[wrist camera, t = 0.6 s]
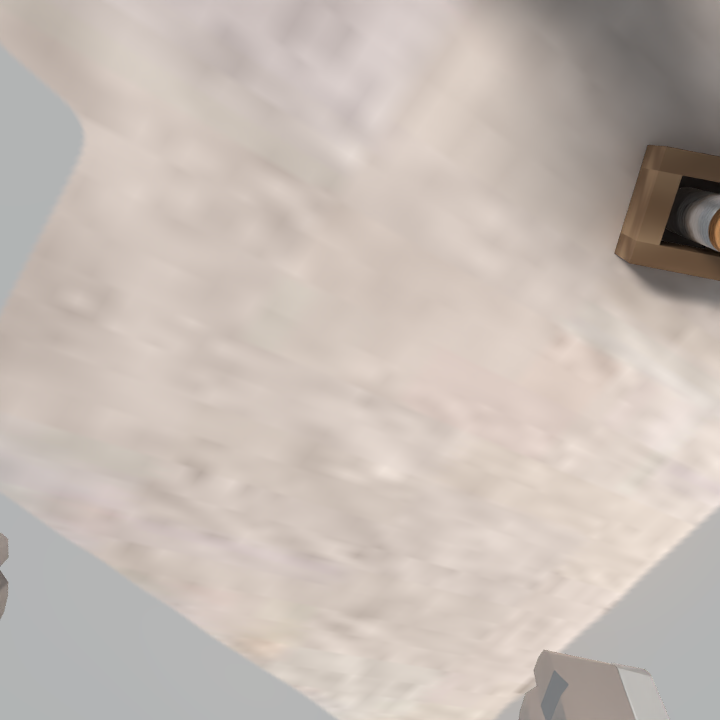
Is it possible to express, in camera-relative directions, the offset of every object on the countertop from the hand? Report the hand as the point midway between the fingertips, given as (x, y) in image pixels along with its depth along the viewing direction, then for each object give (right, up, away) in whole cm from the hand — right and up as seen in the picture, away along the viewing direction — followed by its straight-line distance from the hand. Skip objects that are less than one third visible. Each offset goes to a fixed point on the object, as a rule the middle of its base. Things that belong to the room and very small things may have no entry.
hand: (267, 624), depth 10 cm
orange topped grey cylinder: (+25, +15, +40) cm, 50 cm away
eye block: (+25, +15, +40) cm, 50 cm away
